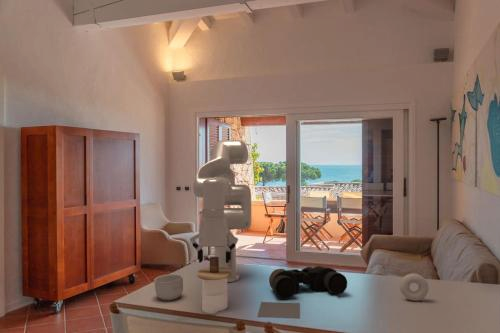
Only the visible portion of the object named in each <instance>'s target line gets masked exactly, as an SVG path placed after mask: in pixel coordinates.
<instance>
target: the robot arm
mask: <svg viewBox="0 0 500 333" xmlns="http://www.w3.org/2000/svg"><path fill="white" fill-rule="evenodd" d="M209 155H210V160H209V161H207V162H205V163H204V164H203V165H201V166H200V167H199V168H198V169H197V170H196V173H195V175H194V179H193V184H192V191H193V194H194V196H195V197H196V198H202V209H201V210H198V214H199V215H202V217H201V218H200V220H199V228H198V233H197V234H195V235H194V236H192V237H190V238H189V241H190V243H191V245H192V247H193V248H194V249H195V250H196V252H197V260H198V262H199V263H202V262H203V261H204V250H203V247H207V248H211V247H214V257H219V267H221V268H227V269H230V270H231V276H230V277H228V278H227V283H234V282H237V281H238V280H240V277H241V276H240V274H239V273H237V255H236V254H237V251H236V249H237V247H236V246H237V243H238V242H239V238H238V237H236V236H235V235H234V234H233V233H232V231H231V230H248V229H250V228H251V225H252V192H251V187H250V186H248V185H247V184H236V175H235V172H234V170H232V168H231V165H243V164H246V163H247V162H248V160H249V149H248V147H247V144H246V142H244V141H243V140H240V139H236V140H235V139H233V140H232V139H231V140H229V139H228V140H226V139H224V140H218V141H215V143H214V144H213V145H212V147H211V149H210V154H209ZM225 206H239V207H233V208H232V207H225ZM197 239H198V243H197V242H196V240H197Z"/></svg>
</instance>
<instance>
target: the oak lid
mask: <svg viewBox="0 0 500 333" xmlns="http://www.w3.org/2000/svg"><path fill="white" fill-rule="evenodd" d="M230 276H231V270H230V269H227V268H221V267H219V257H215V256H211V257H209V267H206V268H201V269H200V270H197V274H196V277H197V278H198V279H201V280H202V279H204V280H221V279H226V278H228V277H230Z"/></svg>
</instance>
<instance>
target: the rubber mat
mask: <svg viewBox="0 0 500 333" xmlns="http://www.w3.org/2000/svg"><path fill="white" fill-rule="evenodd" d="M256 317H257V318H275V319H277V318H278V319H299V320H300V319H301V303H300V302H281V301H280V302H277V301H275V302H272V301H261V302H260V305H259V309H258V313H257V316H256Z"/></svg>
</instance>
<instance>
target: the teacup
mask: <svg viewBox="0 0 500 333" xmlns="http://www.w3.org/2000/svg"><path fill="white" fill-rule="evenodd" d="M183 278H184V276H183V275H182V274H179V273H175V272H170V273H168V274H162V275H159V276H157V277H156V278H154V279H153V280H154V289H155V290H154V291H155V294H156V296H157V298H159V299H160V300H162V301H173V300H176V299H177V298H179V297H180V296H181V295H182V293H183V291H184V282H183V281H184V280H183Z"/></svg>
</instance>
